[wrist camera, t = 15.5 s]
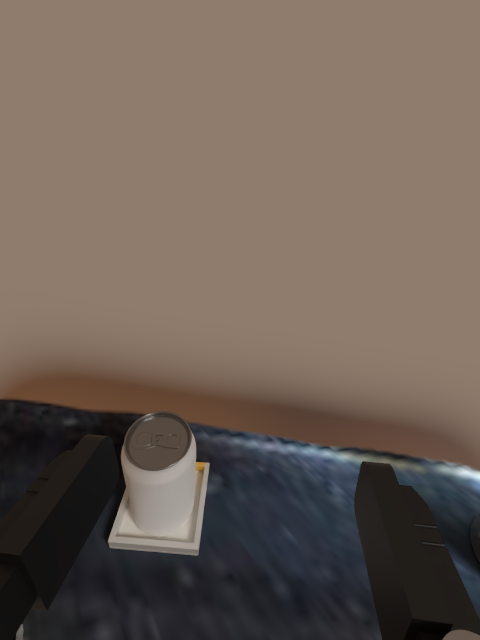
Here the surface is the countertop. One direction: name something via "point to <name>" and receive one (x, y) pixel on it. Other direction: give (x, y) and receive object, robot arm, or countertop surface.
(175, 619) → the countertop surface
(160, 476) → the can
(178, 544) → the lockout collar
